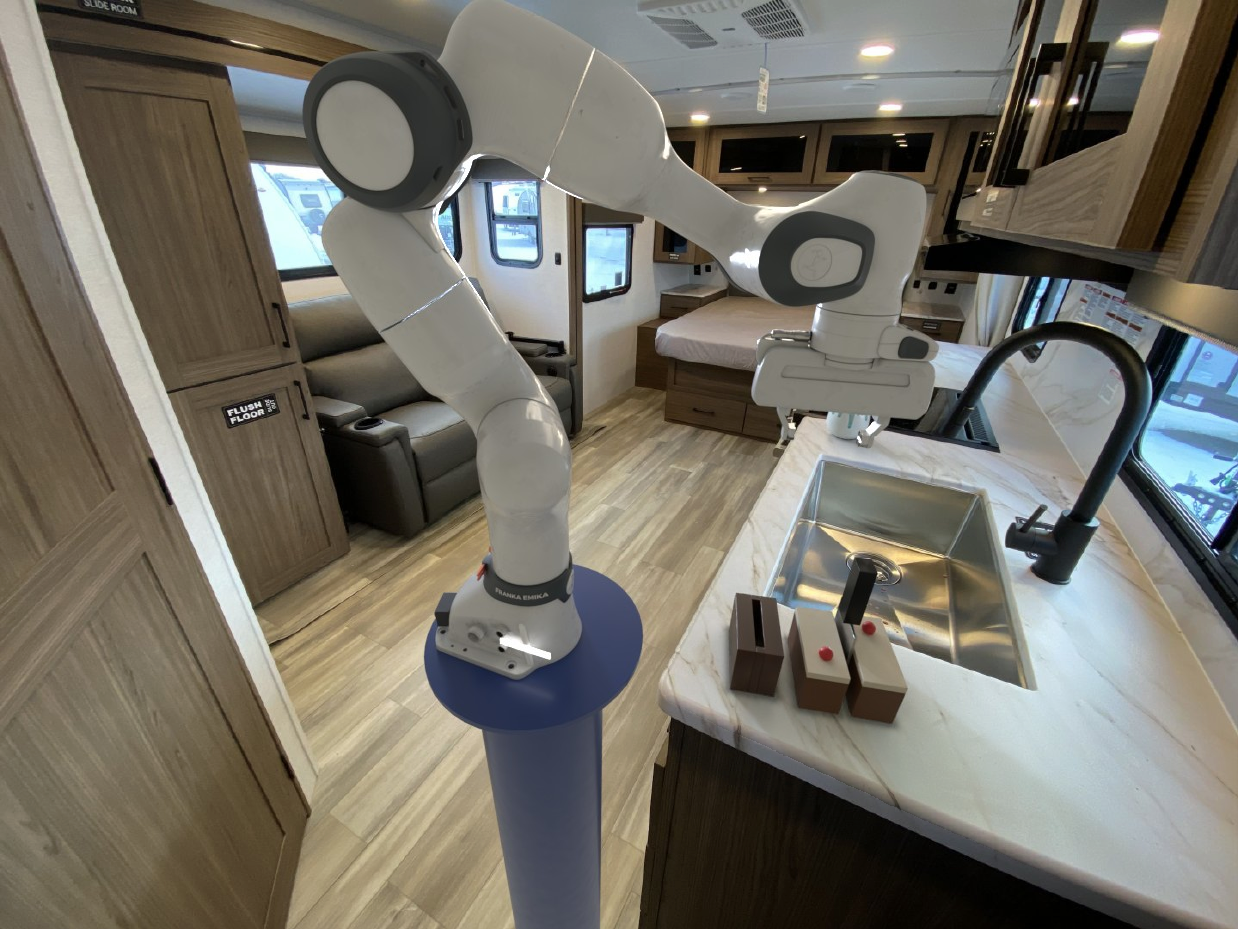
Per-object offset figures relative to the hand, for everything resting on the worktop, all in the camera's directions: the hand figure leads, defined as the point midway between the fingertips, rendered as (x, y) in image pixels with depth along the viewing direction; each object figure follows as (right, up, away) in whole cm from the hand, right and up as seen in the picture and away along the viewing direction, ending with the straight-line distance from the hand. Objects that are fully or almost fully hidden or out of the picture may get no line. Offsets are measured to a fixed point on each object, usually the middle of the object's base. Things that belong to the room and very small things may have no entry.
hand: (824, 442), depth 64 cm
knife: (+5, -33, +9) cm, 34 cm away
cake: (+5, -34, +7) cm, 35 cm away
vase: (+41, +6, +84) cm, 93 cm away
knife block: (-7, -32, +9) cm, 34 cm away
